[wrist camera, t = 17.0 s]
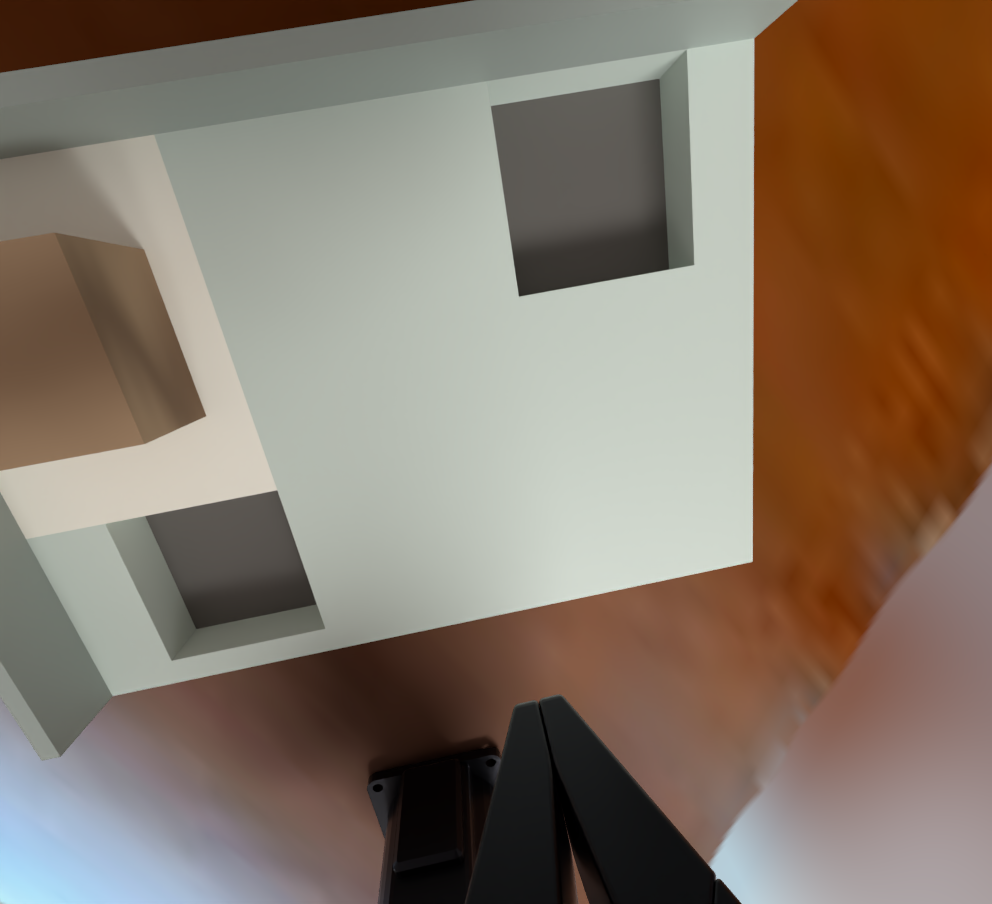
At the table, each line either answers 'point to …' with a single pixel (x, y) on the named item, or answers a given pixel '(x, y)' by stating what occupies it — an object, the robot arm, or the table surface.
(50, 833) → the table surface
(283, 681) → the table surface
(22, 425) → the block
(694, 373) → the tray
